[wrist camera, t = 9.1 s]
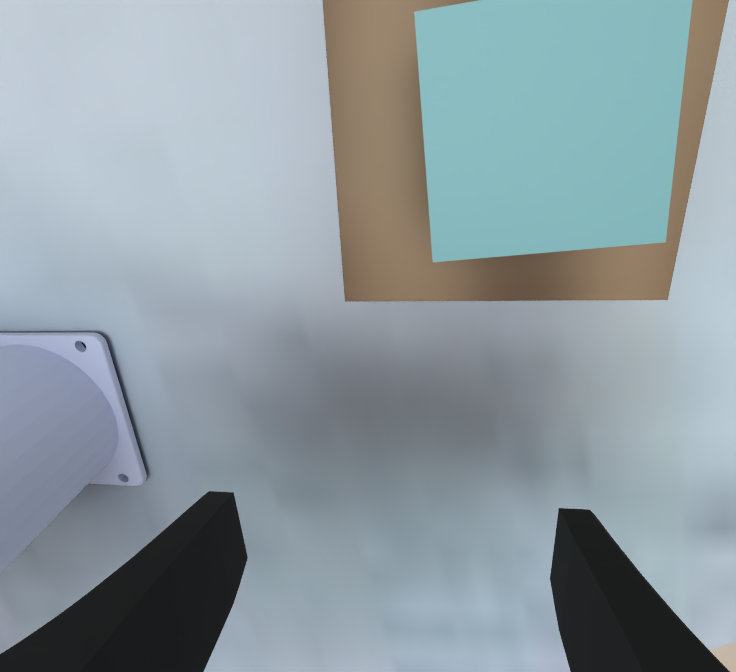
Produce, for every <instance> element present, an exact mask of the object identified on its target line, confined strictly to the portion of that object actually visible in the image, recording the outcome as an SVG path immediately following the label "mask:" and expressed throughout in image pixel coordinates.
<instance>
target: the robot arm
mask: <svg viewBox="0 0 736 672" xmlns="http://www.w3.org/2000/svg"><path fill="white" fill-rule="evenodd" d="M81 341H82V342H83V343H84V344H85V345H86V347H84V346H83V345H82V343H81ZM124 474H125V475H124ZM146 478H147V475H146V471H145V468H144V464H143V461H142V458H141V454H140V451H139V448H138V444H137V441H136V438H135V434H134V431H133V428H132V424H131V421H130V418H129V414H128V411H127V408H126V404H125V401H124V398H123V394H122V391H121V388H120V384H119V381H118V378H117V374H116V371H115V368H114V364H113V361H112V358H111V354H110V351H109V348H108V344H107V342H106V340H105V338H104V337H103V336H102V335H100V334H98V333H94V332H42V333H0V574H1V573H2V572H3V571H4V570H5V569H6V568H7V567H8V566H9V565H10V564H11V563H12V562H13V561H14V560H15V559H16V558H17V557H18V556H19V555H20V554H21V553H22V552H23V551H24V549H25V548H26V547H27V546H28V545H29V544H30V543H31V542H32V541H33V540H34V539H35V538H36V537H37V536H38V535H39V534H40V533H41V532H42V531H43V530H44V529H45V528H46V527H47V526H48V525H49V524H50V523H51V522H52V521H53V519H54V518H55V517H56V516H57V515H58V514H59V513H60V512H61V511H62V510H63V509H64V508H65V507H66V506H67V505H68V504H69V503H70V502H71V501H72V500H73V499H74V498H75V497H76V496H77V495H78V494H79V493H80V492H81V490H82V489H83V488H84V487H85V486H86V485H87V484H103V485H124V486H140V485H141V484H142V483H143V482H144V481H145V480H146ZM246 561H247V553H246V548H245V544H244V539H243V534H242V530H241V525H240V520H239V516H238V511H237V506H236V502H235V497H234V493H232V492H211V491H209V492H208V493H206V494H205V495H204V496H203V497H202V498H200V499H199V500H198V501H197V502H196V503H195V504H193V505H192V506H191V507H190V508H189V509H188V510H187V511H185V512H184V513H183V514H182V515H181V516H180V517H179V518H178V519H176V520H175V521H174V522H173V523H172V524H171V525H170V526H168V527H167V528H166V529H165V530H164V531H163V532H162V533H160V534H159V535H158V536H157V537H156V538H155V539H153V540H152V541H151V542H150V543H149V544H148V545H147V546H145V547H144V548H143V549H142V550H141V551H140V552H138V553H137V554H136V555H135V556H134V557H133V558H131V559H130V560H129V561H128V562H126V563H125V564H124V565H123V566H121V567H120V568H119V569H118V570H116V571H115V572H114V573H113V574H111V575H110V576H109V577H108V578H106V579H105V580H104V581H103V582H101V583H100V584H99V585H98V586H96V587H95V588H94V589H93V590H91V591H90V592H89V593H88V594H86V595H85V596H84V597H82V598H81V599H80V600H78V601H77V602H76V603H74V604H73V605H72V606H70V607H69V608H68V609H66V610H65V611H64V612H62V613H61V614H59V615H58V616H57V617H55V618H54V619H52V620H51V621H49V622H48V623H47V624H45V625H44V626H42V627H41V628H39V629H38V630H37V631H35V632H34V633H32V634H31V635H29V636H28V637H26V638H25V639H23V640H22V641H20V642H19V643H17V644H16V645H14V646H13V647H11V648H9V649H8V650H6V651H5V652H3V653H1V654H0V672H203V671H204V669H205V667H206V665H207V662H208V660H209V658H210V656H211V653H212V651H213V649H214V647H215V645H216V642H217V640H218V638H219V635H220V633H221V631H222V629H223V626H224V624H225V622H226V619H227V617H228V615H229V613H230V610H231V608H232V605H233V603H234V600H235V597H236V594H237V591H238V588H239V585H240V582H241V578H242V575H243V571H244V568H245V565H246ZM550 580H551V586H552V592H553V598H554V604H555V610H556V615H557V621H558V626H559V631H560V635H561V639H562V642H563V646H564V649H565V653H566V656H567V660H568V664H569V667H570V671H571V672H729V671H728V670H727V668H725V666H724V665H723V664H722V663H720V661H719V660H718V659H717V658H716V657H715V656H714V655H713V654H712V653H711V652H710V651H709V650H708V649H707V648H706V647H705V645H704V644H703V643H702V642H701V641H700V640H699V639H698V638H697V637H696V636H695V635H694V634H693V633H692V632H691V631H690V629H689V628H688V627H687V626H686V625H685V624H684V623H683V622H682V621H681V619H680V618H679V617H678V616H677V615H676V614H675V613H674V612H673V611H672V609H671V608H670V607H669V606H668V605H667V604H666V602H665V601H664V600H663V599H662V598H661V597H660V595H659V594H658V593H657V592H656V591H655V590H654V588H653V587H652V586H651V585H650V584H649V583H648V582H647V580H646V579H645V578H644V577H643V576H642V574H641V573H640V572H639V571H638V569H637V568H636V567H635V566H634V565H633V563H632V562H631V561H630V560H629V558H628V557H627V556H626V555H625V553H624V552H623V551H622V550H621V548H620V547H619V546H618V545H617V543H616V542H615V541H614V539H613V538H612V537H611V536H610V534H609V533H608V532H607V530H606V529H605V528H604V526H603V525H602V524H601V522H600V521H599V520H598V519H597V517H596V516H595V515H594V514H593V513H592V512H591V511H590V510H585V509H564V508H559V512H558V520H557V528H556V536H555V544H554V552H553V560H552V568H551V576H550Z"/></svg>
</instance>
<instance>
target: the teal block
mask: <svg viewBox="0 0 736 672" xmlns="http://www.w3.org/2000/svg"><path fill="white" fill-rule="evenodd" d="M691 9H692V0H479V1H473V2H467V3H461V4H456V5H450V6H444V7H438V8H433V9H427V10H421V11H416V12H414V16H415V29H416V43H417V56H418V70H419V84H420V97H421V111H422V124H423V138H424V151H425V165H426V178H427V192H428V206H429V219H430V233H431V246H432V260H433V262H443V261H454V260H466V259H478V258H489V257H501V256H513V255H524V254H536V253H547V252H559V251H571V250H582V249H594V248H605V247H617V246H629V245H640V244H652V243H663V242H666V235H667V226H668V217H669V208H670V199H671V190H672V181H673V172H674V163H675V154H676V145H677V136H678V127H679V118H680V109H681V100H682V91H683V81H684V72H685V63H686V54H687V45H688V36H689V27H690V18H691Z"/></svg>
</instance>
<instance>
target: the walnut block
mask: <svg viewBox="0 0 736 672" xmlns="http://www.w3.org/2000/svg"><path fill="white" fill-rule="evenodd" d="M473 1H479V0H323V11H324V25H325V38H326V51H327V65H328V78H329V92H330V105H331V119H332V132H333V145H334V159H335V172H336V186H337V199H338V212H339V226H340V239H341V253H342V266H343V279H344V293H345V301H519V300H668V295H669V290H670V286H671V281H672V276H673V271H674V266H675V261H676V256H677V251H678V246H679V241H680V237H681V232H682V227H683V222H684V217H685V212H686V207H687V202H688V197H689V192H690V188H691V183H692V178H693V173H694V168H695V163H696V158H697V153H698V148H699V144H700V139H701V134H702V129H703V124H704V119H705V114H706V109H707V104H708V99H709V95H710V90H711V85H712V80H713V75H714V70H715V65H716V60H717V55H718V51H719V46H720V41H721V36H722V31H723V26H724V21H725V16H726V11H727V6H728V2H729V0H692V9H691V18H690V27H689V36H688V45H687V54H686V63H685V72H684V81H683V91H682V100H681V109H680V118H679V127H678V136H677V145H676V154H675V163H674V172H673V181H672V190H671V199H670V208H669V217H668V226H667V235H666V242H663V243H652V244H640V245H629V246H617V247H605V248H594V249H582V250H571V251H559V252H547V253H536V254H524V255H513V256H501V257H489V258H478V259H466V260H454V261H443V262H433V260H432V246H431V233H430V219H429V206H428V192H427V178H426V165H425V151H424V138H423V124H422V111H421V97H420V84H419V70H418V56H417V43H416V29H415V16H414V12H416V11H421V10H427V9H433V8H438V7H444V6H450V5H456V4H461V3H467V2H473Z"/></svg>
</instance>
